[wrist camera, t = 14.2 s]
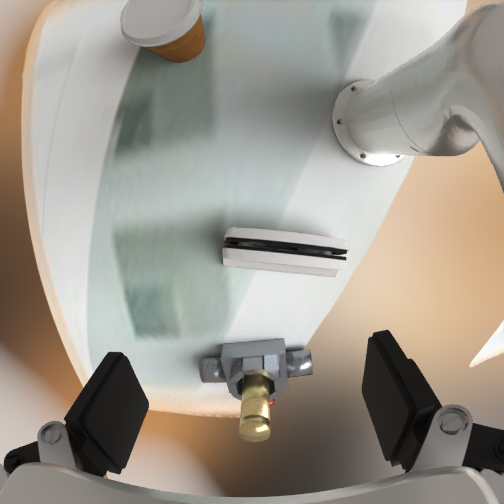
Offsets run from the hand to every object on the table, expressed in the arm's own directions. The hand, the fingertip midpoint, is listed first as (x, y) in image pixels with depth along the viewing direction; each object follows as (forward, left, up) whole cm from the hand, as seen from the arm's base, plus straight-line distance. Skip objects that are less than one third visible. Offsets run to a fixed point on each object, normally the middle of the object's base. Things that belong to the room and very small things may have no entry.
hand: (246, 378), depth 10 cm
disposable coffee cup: (+7, -27, -31) cm, 41 cm away
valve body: (+3, +26, -30) cm, 40 cm away
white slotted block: (-3, +4, -31) cm, 31 cm away
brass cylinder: (+3, +24, -26) cm, 36 cm away
